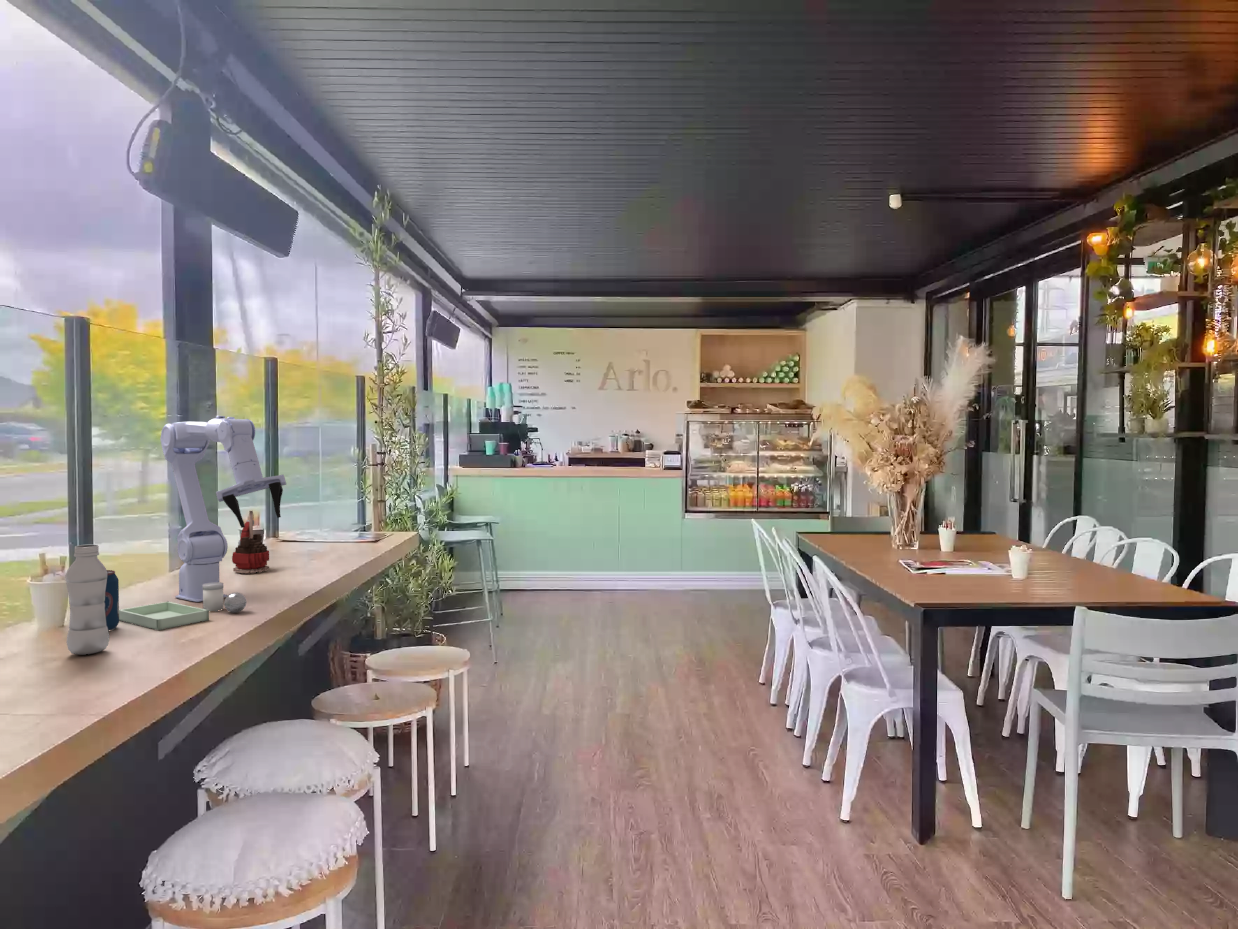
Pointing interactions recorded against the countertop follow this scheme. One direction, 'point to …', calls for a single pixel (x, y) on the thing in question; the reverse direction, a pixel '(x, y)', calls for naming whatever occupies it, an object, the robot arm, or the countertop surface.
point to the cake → (250, 551)
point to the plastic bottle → (87, 602)
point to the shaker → (213, 596)
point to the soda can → (112, 600)
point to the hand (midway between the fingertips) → (260, 521)
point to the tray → (163, 615)
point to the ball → (235, 602)
